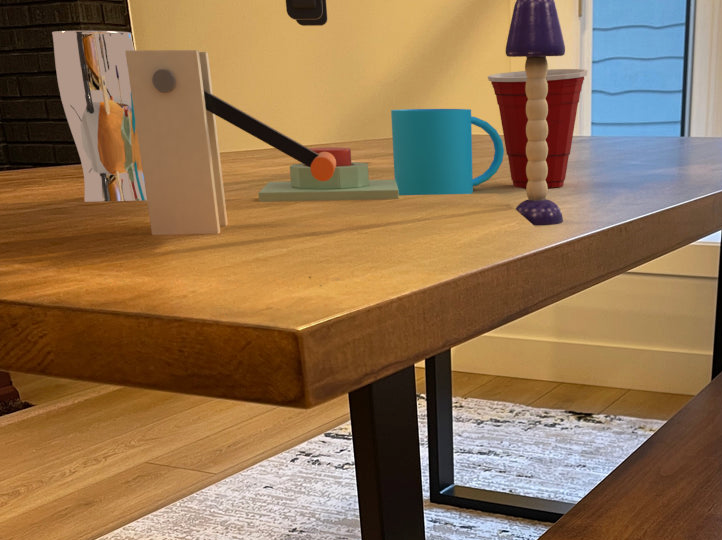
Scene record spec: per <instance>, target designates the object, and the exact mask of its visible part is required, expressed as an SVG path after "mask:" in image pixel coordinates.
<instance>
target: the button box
mask: <svg viewBox="0 0 722 540" xmlns="http://www.w3.org/2000/svg"><path fill="white" fill-rule="evenodd" d="M351 163H352V165H350V166H338V167H336V168H335V171H334V173H333V176H332V177H331V178H330V179H329V180H327V181H319V180H317V179H315V178H314V177H313V175H312V173H311V169H310V167H308V166H307V165H305V164H303V163H301V162H299V163H294V164H293V163H292V164H291V165H289V172H290V174H289V175H290V181H268V182H267V183H266V184H265V185H264V186H263V187H262V188H261V189H260V191H258V194H257V195H258V202H259V203H268V202H269V203H272V202H273V203H274V202H315V201H316V202H318V201H319V202H323V201H362V200H363V201H368V200H369V201H370V200H399V199H400V195H399V192H398V187H397V183H396V180H395V179H369V163H367V162H358V161H351Z"/></svg>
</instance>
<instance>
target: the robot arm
mask: <svg viewBox="0 0 722 540" xmlns="http://www.w3.org/2000/svg"><path fill="white" fill-rule="evenodd" d="M285 8H286V9H285V10H286V14H287V15H288V17H290V18H291V19H292V20H295V21H296V23H297V24H298V25H300V26H303V27H312V26H313V27H319V26H321V27H322V26H324V25H326V24H327V22H328V9H327V0H285Z"/></svg>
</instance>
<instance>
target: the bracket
mask: <svg viewBox="0 0 722 540" xmlns="http://www.w3.org/2000/svg"><path fill="white" fill-rule="evenodd" d="M125 52H126V59H127V66H128V73H129V80H130V87H131V94H132V100H133V107H134V114H135V121H136V128H137V135H138V142H139V149H140V155H141V162H142V169H143V176H144V183H145V190H146V197H147V200H146V205H147V210H148V217H149V224H150V230H151V235H152V236H173V235H174V236H175V235H177V236H178V235H180V236H181V235H214V234H215V235H216V234H220V233H221V227H227V226H228V224H229V223H228V213H227V204H226V196H225V188H224V180H223V169H222V163H221V154H220V153H221V152H220V145H219V137H218V136H219V135H218V129H217V128H218V127H217V120H216V119H217V118H216V115H215V114H213V113H211V112H209V111H208V110H206V107H205V98H204V90H206V91H207V92H209V93H211V94H213V95H214V93H213V83H212V75H211V67H210V58H209V52H207V51H199V50H197V49H180V50H179V49H168V50H167V49H166V50H164V49H162V50H161V49H160V50H159V49H155V50H154V49H153V50H152V49H151V50H150V49H149V50H148V49H147V50H146V49H145V50H143V49H142V50H141V49H140V50H139V49H138V50H137V49H134V50H126V51H125ZM203 89H204V90H203Z"/></svg>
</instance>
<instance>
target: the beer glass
mask: <svg viewBox="0 0 722 540" xmlns="http://www.w3.org/2000/svg"><path fill="white" fill-rule="evenodd" d="M51 34H52V41H53V53H54V64H55V70H56V79H57V85H58V90H59V93H60V94H59V96H60V100H61V103H62V107H63V110H64V114H65V117H66V120H67V123H68V127H69V129H70V132H71V135H72V138H73V140H74V143H75V147H76V150H77V152H78V156H79V159H80V162H81V167H82V173H83V184H84V185H83V186H84V187H83V196H84V197H83V202H84V203H86V202H87V203H88V202H89V203H91V202H92V203H93V202H95V203H96V202H138V201H139V202H141V201H146V202H147V197H146V190H145V183H144V176H143V169H142V162H141V155H140V149H139V142H138V135H137V128H136V121H135V114H134V107H133V100H132V94H131V87H130V80H129V73H128V66H127V59H126V52H125V51H126V50H135V46H134V43H133V37H132V32H129V31H117V30H116V31H115V30H59V31H57V30H56V31H52V32H51Z"/></svg>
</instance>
